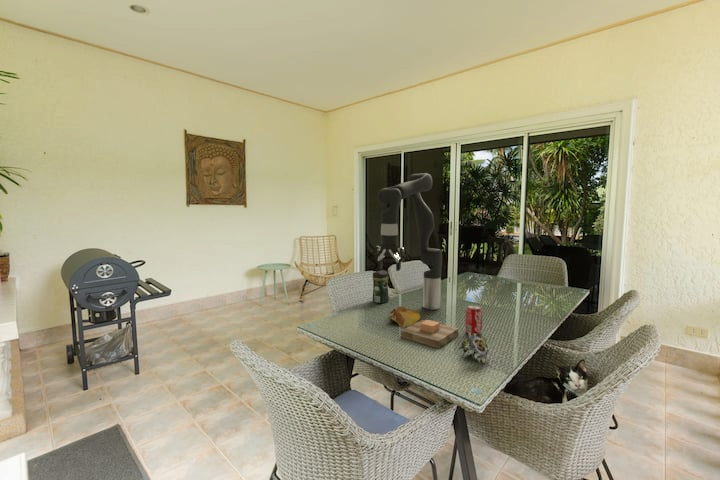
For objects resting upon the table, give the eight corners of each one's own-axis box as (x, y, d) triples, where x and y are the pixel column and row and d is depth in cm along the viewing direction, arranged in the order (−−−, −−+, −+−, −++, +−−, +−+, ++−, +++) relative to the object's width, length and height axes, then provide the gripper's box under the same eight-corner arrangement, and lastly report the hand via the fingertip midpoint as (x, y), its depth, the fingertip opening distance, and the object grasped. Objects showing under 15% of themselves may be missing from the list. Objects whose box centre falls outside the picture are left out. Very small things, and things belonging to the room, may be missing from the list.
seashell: (425, 311, 170) (415, 314, 157) (422, 325, 171) (412, 330, 157) (394, 302, 178) (383, 305, 165) (392, 316, 178) (380, 320, 165)
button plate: (422, 325, 161) (422, 319, 161) (458, 335, 149) (458, 328, 149) (401, 337, 147) (401, 330, 147) (438, 348, 136) (438, 341, 135)
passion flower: (481, 376, 124) (481, 359, 117) (453, 363, 130) (452, 346, 123) (492, 352, 130) (493, 334, 123) (465, 340, 136) (464, 322, 129)
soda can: (483, 331, 153) (484, 306, 152) (479, 337, 147) (480, 310, 146) (467, 329, 157) (467, 303, 156) (463, 334, 151) (464, 307, 150)
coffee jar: (380, 298, 208) (380, 268, 206) (390, 301, 203) (390, 270, 201) (370, 302, 201) (370, 271, 199) (380, 304, 196) (380, 272, 194)
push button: (427, 327, 152) (427, 319, 152) (439, 330, 148) (439, 322, 148) (420, 330, 148) (420, 323, 147) (432, 334, 144) (432, 326, 144)
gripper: (407, 233, 150) (407, 270, 152) (379, 232, 157) (379, 267, 159) (400, 235, 144) (400, 272, 145) (371, 233, 151) (371, 269, 153)
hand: (389, 269), depth 152 cm, fingers open, 8 cm apart
